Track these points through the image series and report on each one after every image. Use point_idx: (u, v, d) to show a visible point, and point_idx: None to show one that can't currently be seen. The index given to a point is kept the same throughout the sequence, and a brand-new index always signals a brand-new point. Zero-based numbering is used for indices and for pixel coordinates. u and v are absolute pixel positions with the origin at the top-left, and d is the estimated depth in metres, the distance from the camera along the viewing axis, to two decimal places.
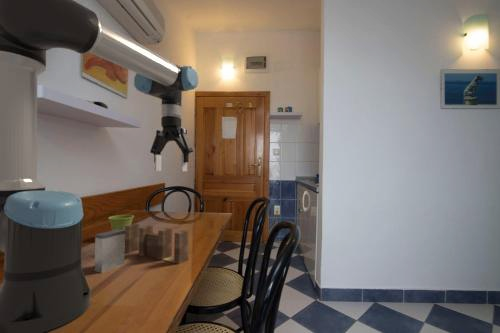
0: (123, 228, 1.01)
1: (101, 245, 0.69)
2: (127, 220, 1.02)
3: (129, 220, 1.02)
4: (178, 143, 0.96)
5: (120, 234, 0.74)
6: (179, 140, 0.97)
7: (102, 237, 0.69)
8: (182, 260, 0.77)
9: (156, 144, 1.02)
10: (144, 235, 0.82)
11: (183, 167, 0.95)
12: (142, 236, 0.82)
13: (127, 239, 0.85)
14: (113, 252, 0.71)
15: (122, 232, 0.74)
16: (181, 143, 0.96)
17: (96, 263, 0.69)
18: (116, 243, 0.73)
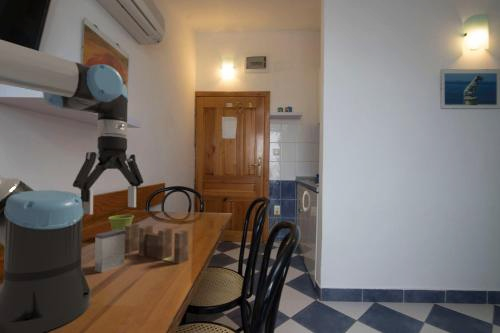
0: (123, 228, 1.01)
1: (101, 245, 0.69)
2: (127, 220, 1.02)
3: (129, 220, 1.02)
4: None
5: (120, 234, 0.74)
6: (96, 169, 0.69)
7: (102, 237, 0.69)
8: (182, 260, 0.77)
9: (132, 172, 0.80)
10: (144, 235, 0.82)
11: (85, 208, 0.67)
12: (142, 236, 0.82)
13: (127, 239, 0.85)
14: (113, 252, 0.71)
15: (122, 232, 0.74)
16: (92, 173, 0.68)
17: (96, 263, 0.69)
18: (116, 243, 0.73)
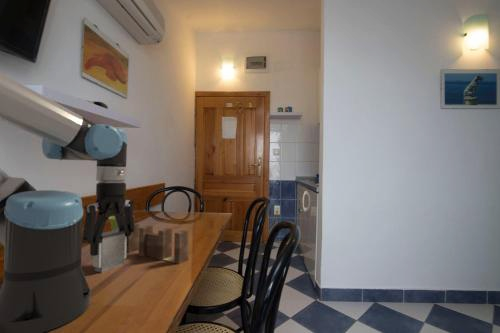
0: None
1: None
2: None
3: None
4: None
5: (120, 234, 0.74)
6: (98, 219, 0.69)
7: (102, 237, 0.69)
8: (182, 260, 0.77)
9: (126, 219, 0.78)
10: (144, 235, 0.82)
11: (94, 261, 0.69)
12: (142, 236, 0.82)
13: None
14: (113, 252, 0.71)
15: (122, 232, 0.74)
16: (96, 225, 0.69)
17: None
18: (116, 243, 0.73)
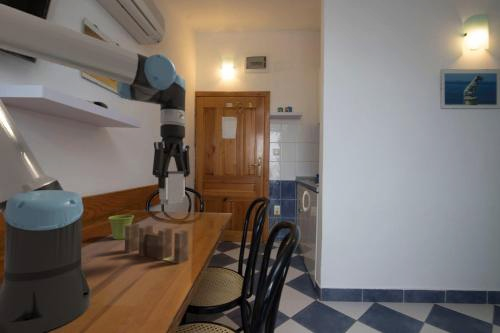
0: (123, 228, 1.01)
1: None
2: (127, 220, 1.02)
3: (129, 220, 1.02)
4: None
5: (180, 173, 0.81)
6: (164, 157, 0.77)
7: (168, 172, 0.76)
8: (182, 260, 0.77)
9: None
10: (144, 235, 0.82)
11: (161, 194, 0.76)
12: (142, 236, 0.82)
13: (127, 239, 0.85)
14: (175, 188, 0.79)
15: (182, 172, 0.81)
16: (162, 162, 0.76)
17: None
18: (178, 181, 0.80)
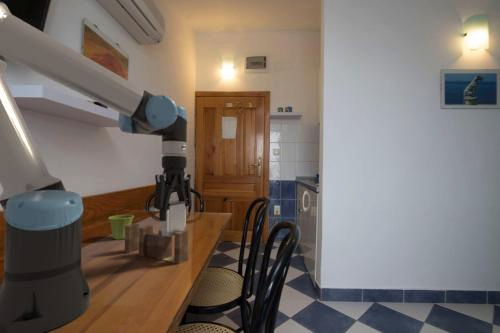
0: (123, 228, 1.01)
1: None
2: (127, 220, 1.02)
3: (129, 220, 1.02)
4: None
5: (181, 203, 0.81)
6: (165, 189, 0.77)
7: (169, 204, 0.76)
8: (182, 260, 0.77)
9: None
10: (144, 235, 0.82)
11: (162, 226, 0.76)
12: (142, 236, 0.82)
13: (127, 239, 0.85)
14: (176, 219, 0.79)
15: (183, 202, 0.81)
16: (164, 194, 0.76)
17: None
18: (179, 212, 0.80)
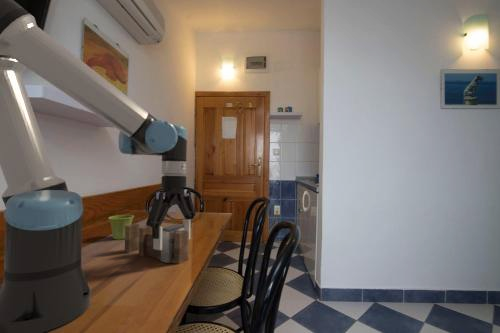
0: (123, 228, 1.01)
1: (167, 238, 0.76)
2: (127, 220, 1.02)
3: (129, 220, 1.02)
4: None
5: (181, 228, 0.80)
6: (162, 207, 0.76)
7: (168, 230, 0.76)
8: (182, 260, 0.77)
9: (187, 206, 0.86)
10: (144, 235, 0.82)
11: (155, 244, 0.73)
12: (142, 236, 0.82)
13: (127, 239, 0.85)
14: None
15: (182, 226, 0.81)
16: (160, 211, 0.75)
17: (162, 254, 0.76)
18: None
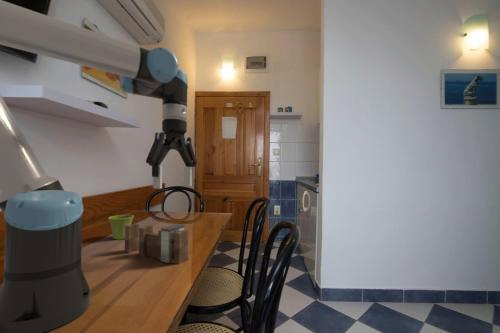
0: (123, 228, 1.01)
1: (167, 238, 0.76)
2: (127, 220, 1.02)
3: (129, 220, 1.02)
4: None
5: (181, 228, 0.80)
6: (162, 148, 0.76)
7: (168, 230, 0.76)
8: (182, 260, 0.77)
9: None
10: (144, 235, 0.82)
11: (154, 183, 0.73)
12: (142, 236, 0.82)
13: (127, 239, 0.85)
14: None
15: (182, 226, 0.81)
16: (160, 152, 0.75)
17: (162, 254, 0.76)
18: None
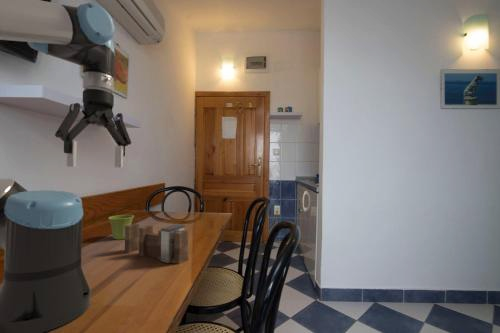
0: (123, 228, 1.01)
1: (167, 238, 0.76)
2: (127, 220, 1.02)
3: (129, 220, 1.02)
4: None
5: (181, 228, 0.80)
6: (80, 122, 0.67)
7: (168, 230, 0.76)
8: (182, 260, 0.77)
9: (120, 132, 0.78)
10: (144, 235, 0.82)
11: (68, 161, 0.65)
12: (142, 236, 0.82)
13: (127, 239, 0.85)
14: None
15: (182, 226, 0.81)
16: (76, 126, 0.66)
17: (162, 254, 0.76)
18: None
